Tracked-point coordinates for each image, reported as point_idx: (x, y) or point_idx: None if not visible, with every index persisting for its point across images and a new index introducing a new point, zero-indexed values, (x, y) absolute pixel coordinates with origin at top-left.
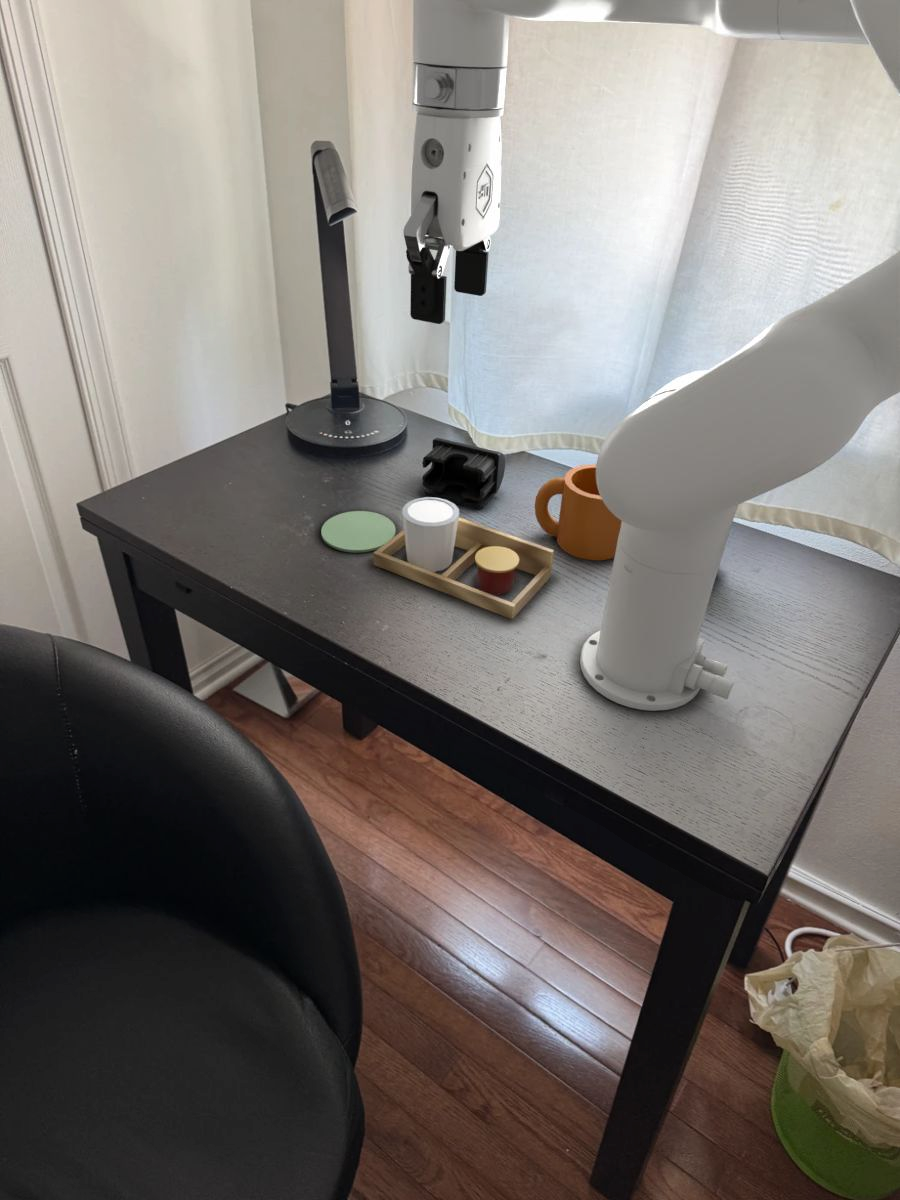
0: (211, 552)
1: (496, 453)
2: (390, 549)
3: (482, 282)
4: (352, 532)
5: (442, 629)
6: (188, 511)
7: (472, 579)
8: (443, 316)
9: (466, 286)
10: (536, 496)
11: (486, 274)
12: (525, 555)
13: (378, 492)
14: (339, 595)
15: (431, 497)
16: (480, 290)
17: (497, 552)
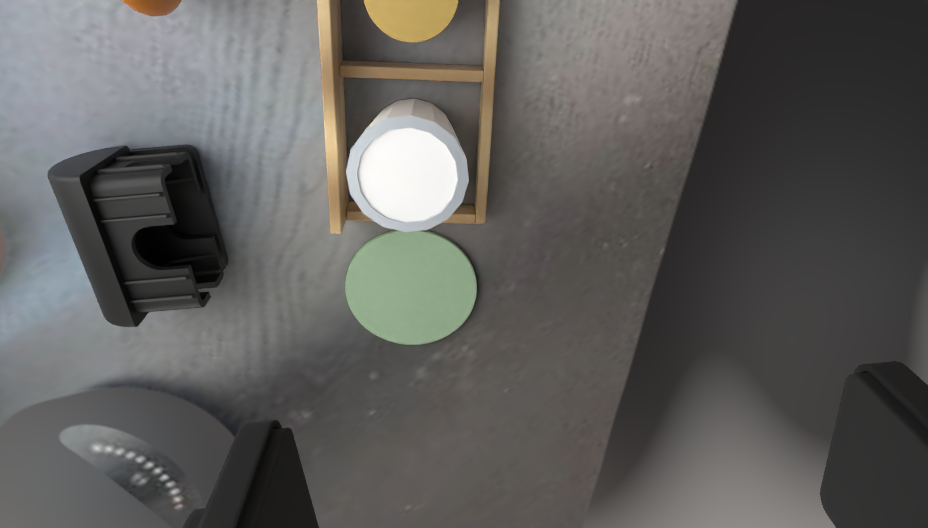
0: (578, 417)
1: (78, 184)
2: None
3: (270, 479)
4: (424, 293)
5: (593, 6)
6: (506, 500)
7: None
8: (908, 379)
9: (301, 525)
10: (156, 15)
11: (219, 511)
12: None
13: (277, 331)
14: (586, 211)
15: (358, 203)
16: (285, 448)
17: (391, 1)
